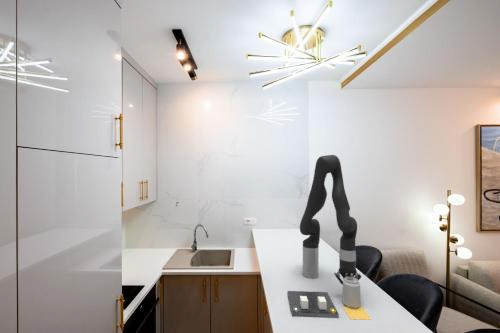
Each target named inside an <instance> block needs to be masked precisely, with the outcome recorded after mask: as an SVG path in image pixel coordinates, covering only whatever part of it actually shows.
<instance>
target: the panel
mask: <svg viewBox="0 0 500 333" xmlns="http://www.w3.org/2000/svg"><path fill="white" fill-rule="evenodd" d="M286 294H287V298H288V303H289V309H290V314H291V317H304V318H305V317H306V318H307V317H308V318H330V319H331V318H333V319H339V318H340V315H339V312H338V310H337V308H336V306H335V304H334V303H333V300H332V299H331V296H330V295H329V293H328V291H303V290H302V291H301V290H287V293H286ZM300 296H307V299H308V309H301V306H300ZM318 297H325V300H326V302H327V310H322V309H319V307H318Z"/></svg>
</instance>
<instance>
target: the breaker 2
mask: <svg viewBox="0 0 500 333" xmlns="http://www.w3.org/2000/svg"><path fill="white" fill-rule="evenodd" d="M318 307H319V309H322V310H327V302H326V300H325V297H318Z"/></svg>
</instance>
